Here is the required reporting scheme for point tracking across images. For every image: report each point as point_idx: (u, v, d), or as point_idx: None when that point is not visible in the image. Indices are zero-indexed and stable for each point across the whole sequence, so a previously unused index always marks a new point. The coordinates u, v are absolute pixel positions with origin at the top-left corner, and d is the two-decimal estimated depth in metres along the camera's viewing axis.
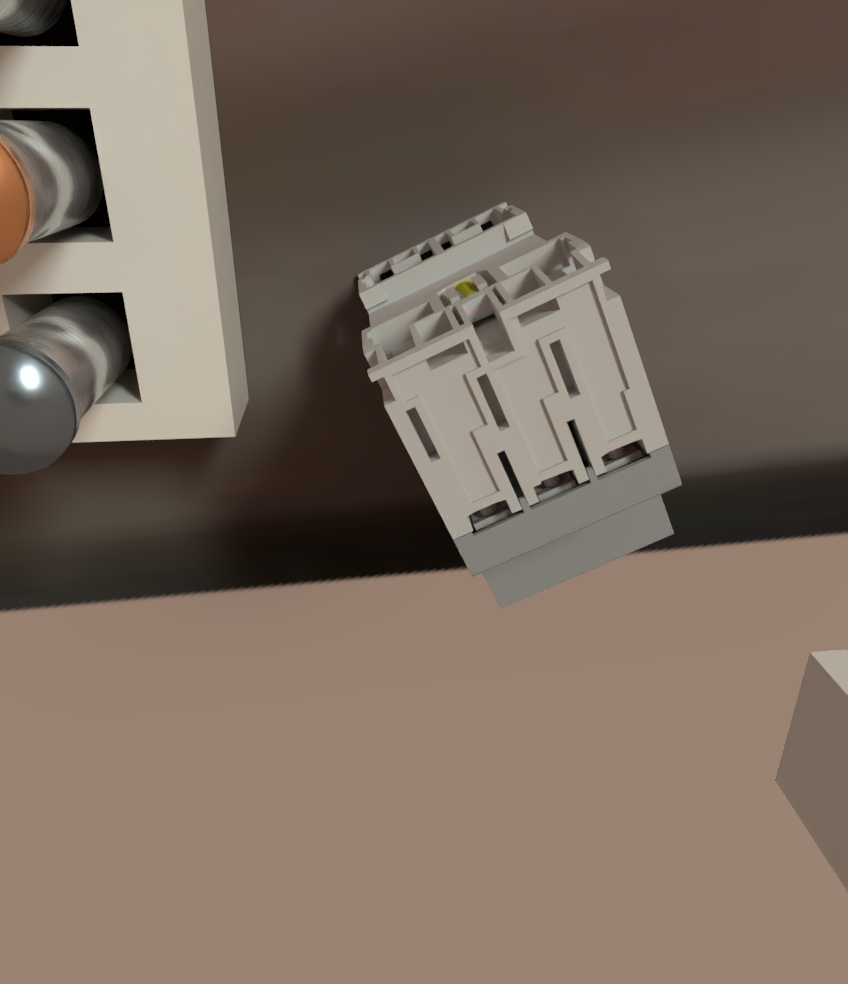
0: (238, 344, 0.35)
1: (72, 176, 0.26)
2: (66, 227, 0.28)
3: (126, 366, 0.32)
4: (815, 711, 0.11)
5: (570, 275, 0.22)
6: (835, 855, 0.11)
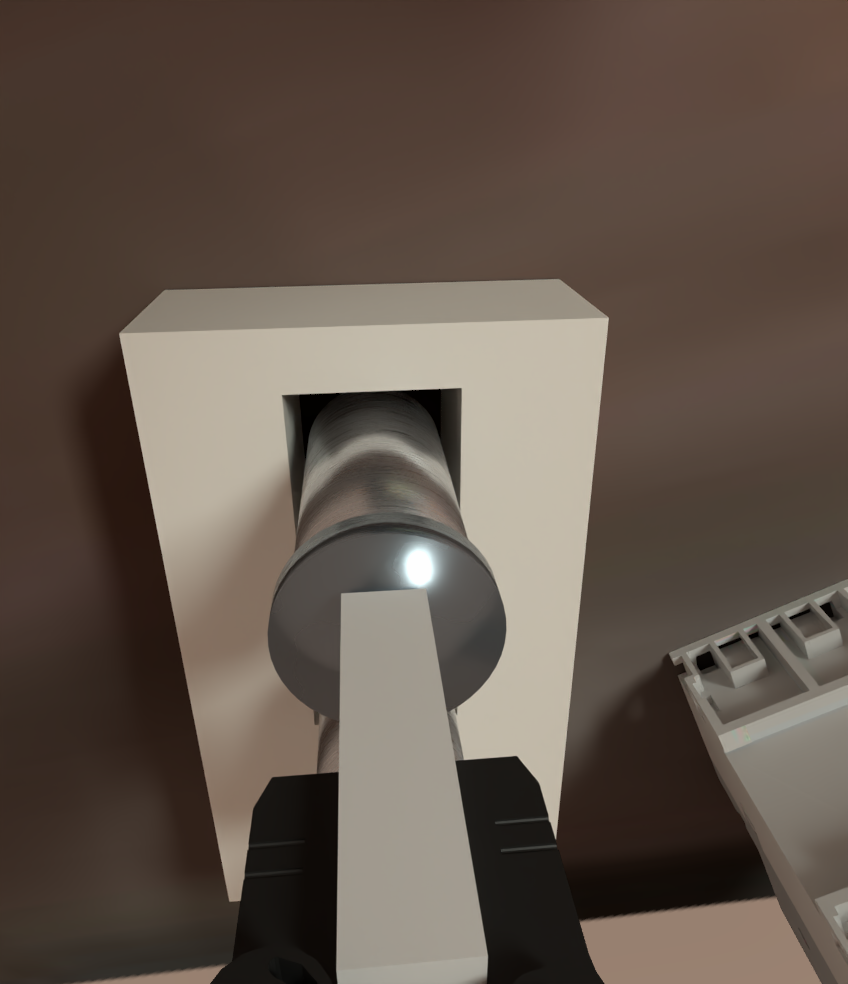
0: None
1: None
2: None
3: None
4: None
5: None
6: None
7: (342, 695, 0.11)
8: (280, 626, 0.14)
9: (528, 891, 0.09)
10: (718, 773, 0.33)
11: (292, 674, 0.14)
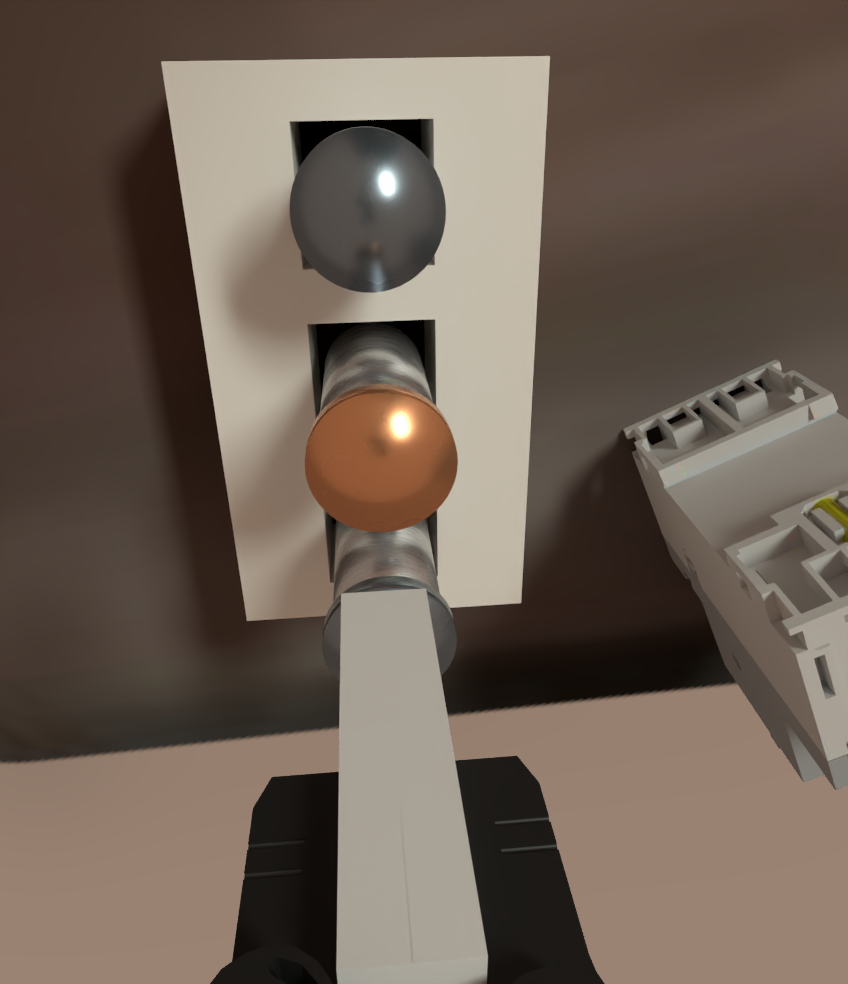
0: None
1: None
2: None
3: None
4: None
5: None
6: None
7: (342, 695, 0.11)
8: (298, 200, 0.21)
9: (528, 891, 0.09)
10: (669, 547, 0.38)
11: (305, 241, 0.21)
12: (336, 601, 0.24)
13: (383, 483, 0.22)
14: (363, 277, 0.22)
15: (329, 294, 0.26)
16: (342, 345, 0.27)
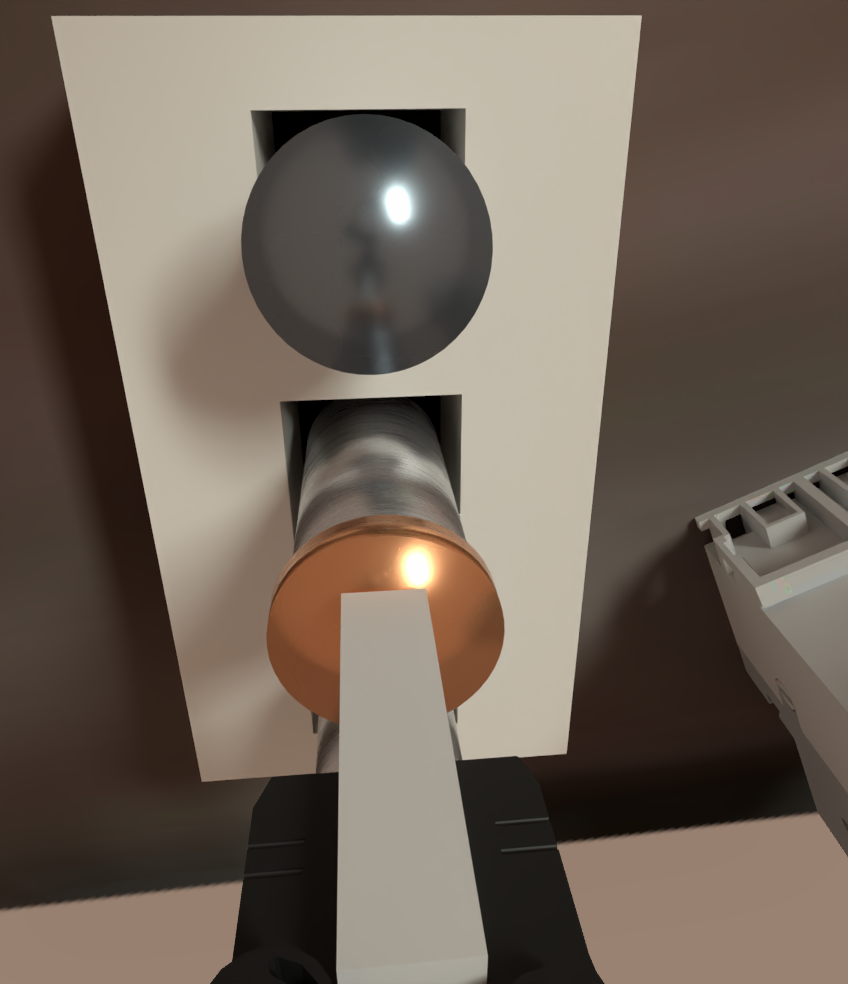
0: None
1: None
2: None
3: None
4: None
5: None
6: None
7: (342, 695, 0.11)
8: (255, 232, 0.13)
9: (528, 891, 0.09)
10: (747, 662, 0.30)
11: (268, 297, 0.13)
12: None
13: None
14: (360, 352, 0.14)
15: (310, 360, 0.18)
16: (330, 424, 0.19)
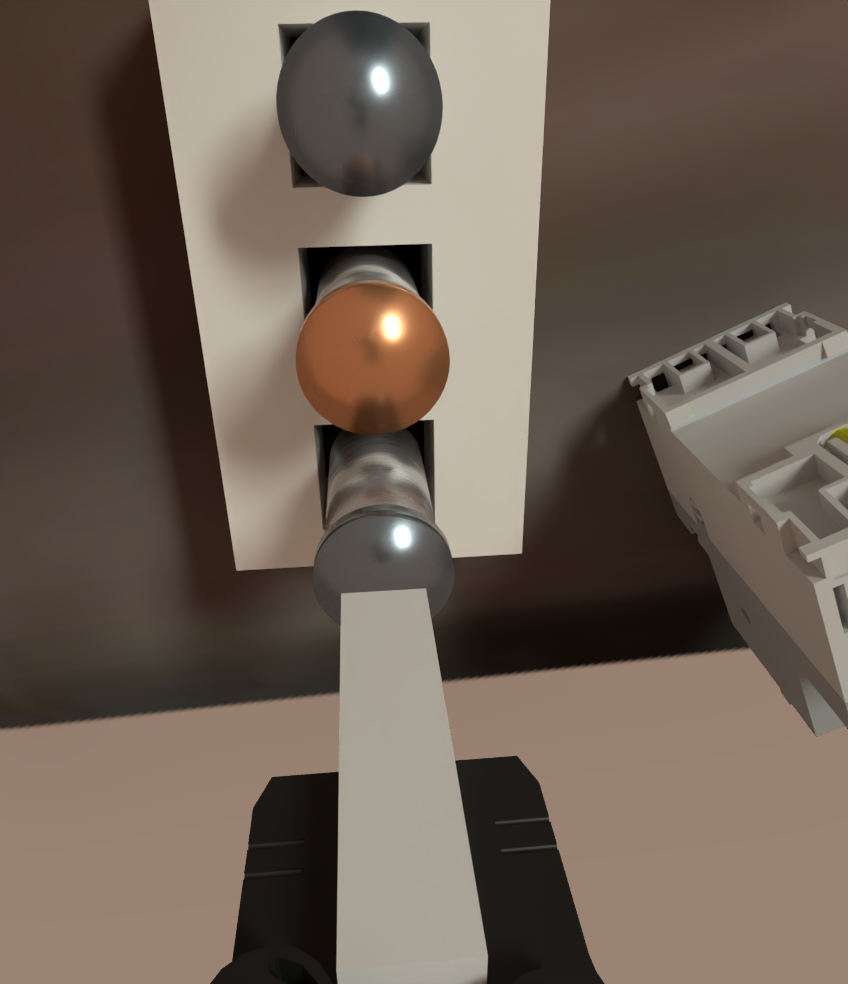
0: None
1: None
2: None
3: None
4: None
5: None
6: None
7: (342, 695, 0.11)
8: (285, 91, 0.20)
9: (528, 891, 0.09)
10: (675, 502, 0.37)
11: (293, 138, 0.20)
12: (327, 531, 0.23)
13: (375, 382, 0.22)
14: (355, 179, 0.21)
15: (320, 215, 0.25)
16: (335, 263, 0.27)
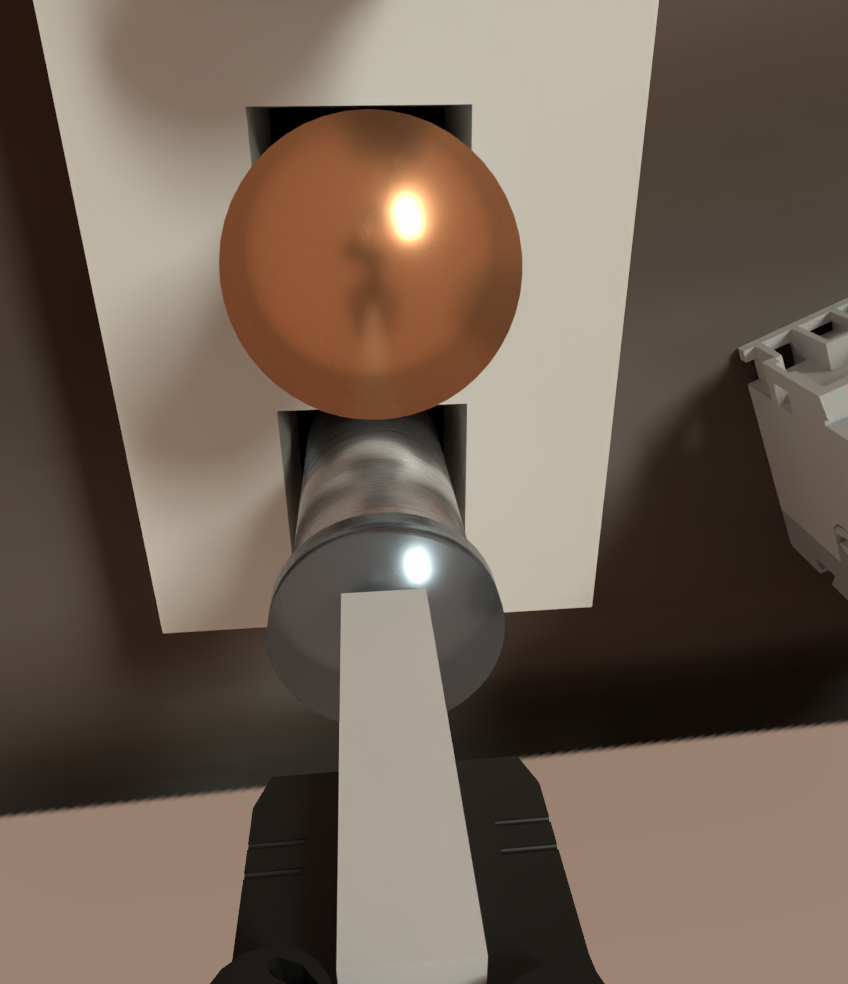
0: None
1: None
2: None
3: None
4: None
5: None
6: None
7: (342, 695, 0.11)
8: None
9: (529, 892, 0.09)
10: (794, 528, 0.26)
11: None
12: (292, 558, 0.14)
13: (376, 317, 0.11)
14: None
15: (283, 47, 0.15)
16: None
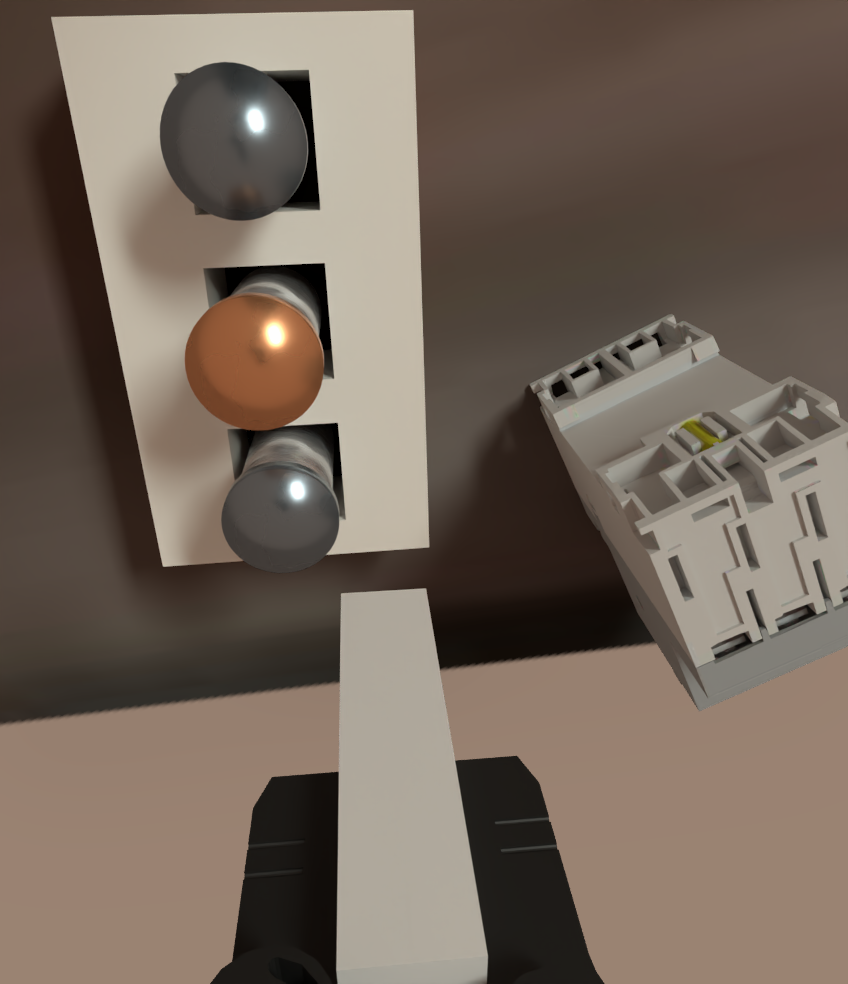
0: None
1: (318, 323, 0.29)
2: None
3: None
4: None
5: (827, 434, 0.23)
6: None
7: (342, 695, 0.11)
8: (167, 131, 0.23)
9: (528, 892, 0.09)
10: (582, 501, 0.39)
11: (177, 171, 0.23)
12: (233, 484, 0.28)
13: (257, 383, 0.24)
14: (234, 205, 0.24)
15: (221, 238, 0.28)
16: (241, 282, 0.30)
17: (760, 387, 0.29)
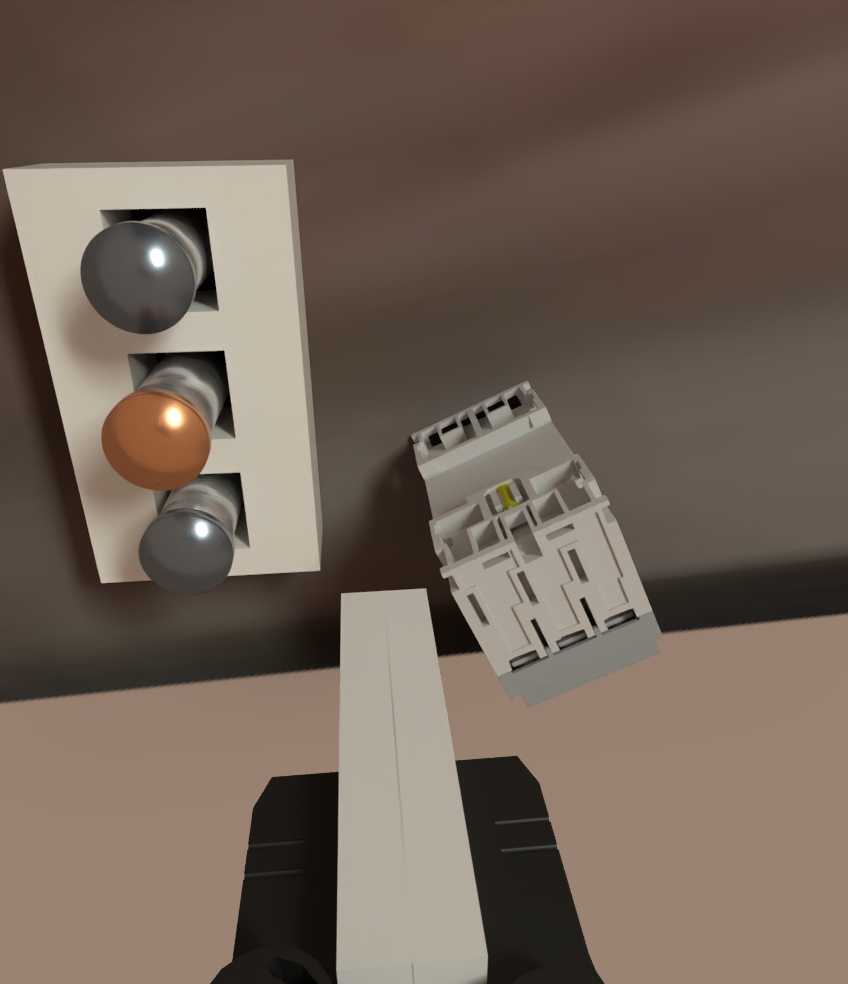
0: (318, 492, 0.44)
1: (219, 397, 0.37)
2: None
3: None
4: None
5: (581, 506, 0.31)
6: None
7: (342, 695, 0.11)
8: (86, 271, 0.30)
9: (528, 892, 0.09)
10: None
11: (94, 299, 0.31)
12: (148, 525, 0.36)
13: (158, 456, 0.32)
14: (139, 323, 0.31)
15: None
16: (160, 362, 0.37)
17: (566, 456, 0.36)
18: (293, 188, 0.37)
